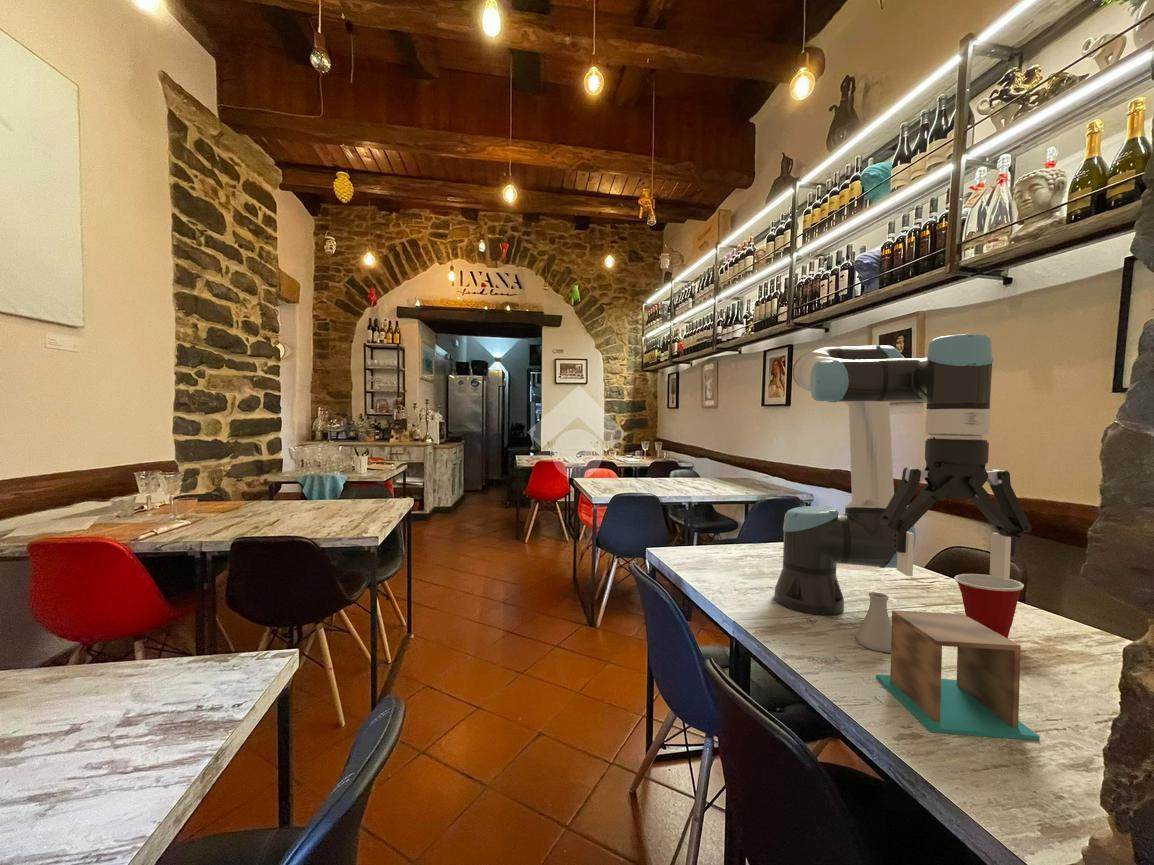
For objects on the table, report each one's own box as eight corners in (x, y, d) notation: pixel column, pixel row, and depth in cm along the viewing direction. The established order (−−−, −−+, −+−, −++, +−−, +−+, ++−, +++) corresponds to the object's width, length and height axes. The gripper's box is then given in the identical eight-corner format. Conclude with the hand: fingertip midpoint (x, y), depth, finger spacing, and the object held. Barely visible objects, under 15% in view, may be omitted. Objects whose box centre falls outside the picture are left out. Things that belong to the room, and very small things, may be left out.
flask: (908, 654, 87) (909, 602, 87) (869, 653, 87) (871, 601, 87) (884, 637, 94) (885, 588, 94) (848, 636, 94) (849, 587, 94)
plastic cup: (952, 621, 103) (954, 567, 103) (1019, 635, 96) (1021, 578, 96) (952, 637, 94) (954, 579, 94) (1025, 654, 88) (1027, 592, 87)
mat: (875, 678, 78) (875, 674, 78) (964, 683, 77) (964, 680, 77) (930, 732, 65) (930, 727, 65) (1039, 740, 63) (1039, 736, 63)
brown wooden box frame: (890, 679, 77) (892, 610, 77) (961, 684, 76) (963, 614, 76) (934, 721, 66) (936, 640, 66) (1018, 728, 65) (1020, 645, 65)
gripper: (883, 437, 68) (879, 579, 68) (1069, 439, 65) (1063, 587, 66) (857, 435, 75) (854, 564, 76) (1023, 437, 73) (1018, 570, 73)
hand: (951, 575), depth 71 cm, fingers open, 13 cm apart
